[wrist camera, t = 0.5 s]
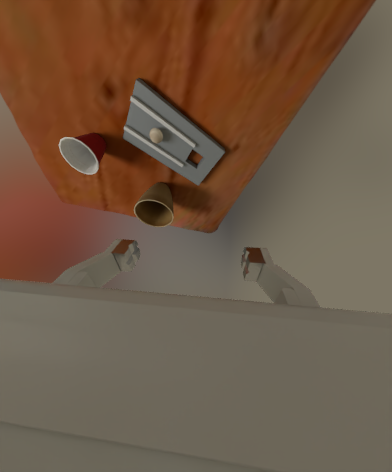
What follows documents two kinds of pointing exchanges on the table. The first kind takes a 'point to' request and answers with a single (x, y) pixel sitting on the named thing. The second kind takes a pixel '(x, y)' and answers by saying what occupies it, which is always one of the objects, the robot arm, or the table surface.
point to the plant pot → (155, 206)
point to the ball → (156, 135)
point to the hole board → (169, 134)
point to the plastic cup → (83, 152)
